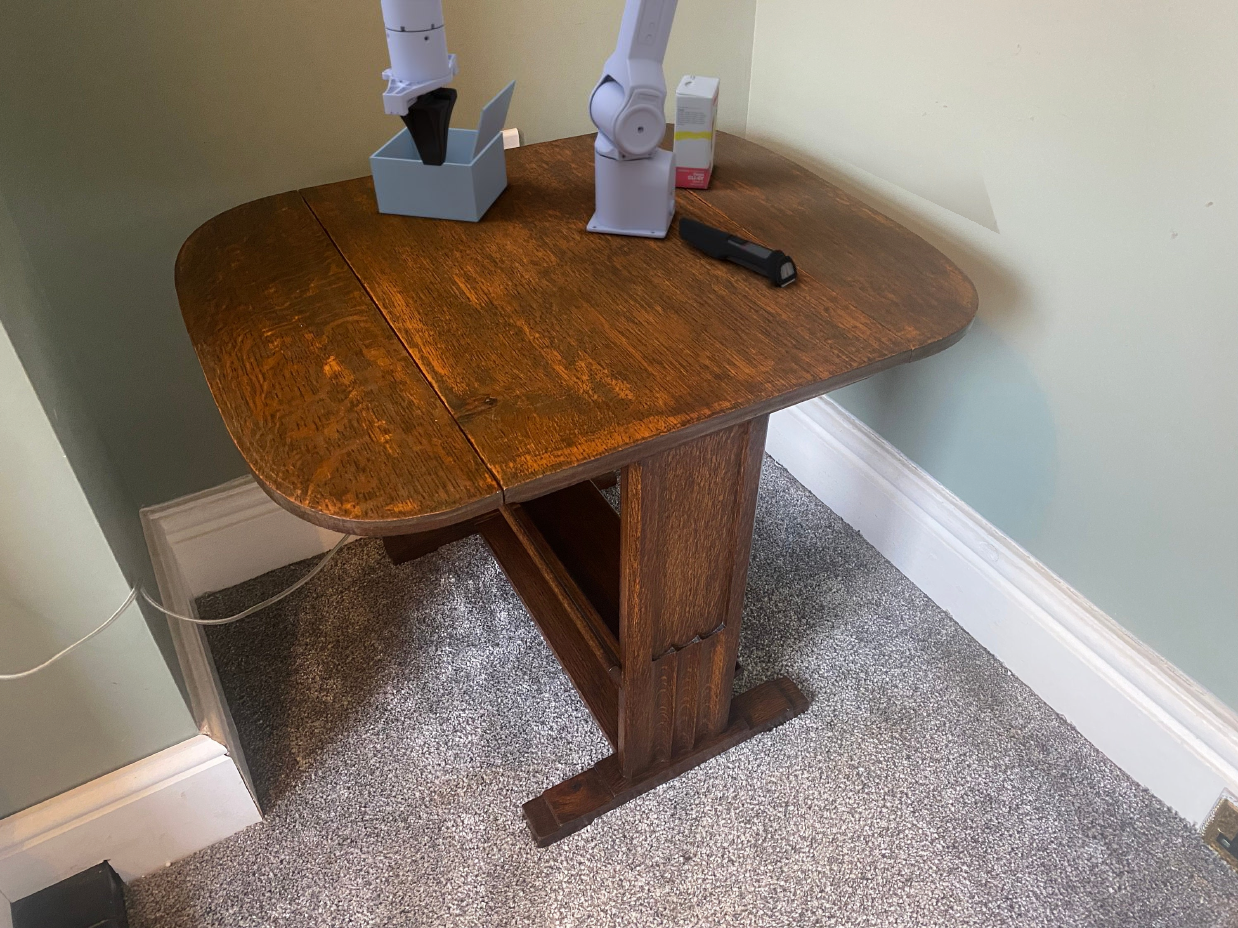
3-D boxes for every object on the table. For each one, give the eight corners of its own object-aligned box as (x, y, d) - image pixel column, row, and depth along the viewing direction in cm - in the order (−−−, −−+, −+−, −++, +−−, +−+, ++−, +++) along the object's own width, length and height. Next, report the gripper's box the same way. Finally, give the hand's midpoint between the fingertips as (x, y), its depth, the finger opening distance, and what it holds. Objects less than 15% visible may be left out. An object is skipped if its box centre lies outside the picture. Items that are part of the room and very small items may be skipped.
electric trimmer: (692, 236, 101) (693, 210, 99) (799, 278, 92) (802, 251, 90) (670, 246, 99) (671, 220, 97) (778, 290, 90) (781, 262, 88)
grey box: (507, 185, 112) (502, 132, 108) (477, 222, 103) (471, 166, 99) (416, 177, 114) (408, 125, 110) (379, 212, 105) (369, 157, 101)
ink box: (707, 190, 111) (714, 96, 103) (670, 187, 112) (674, 93, 104) (714, 166, 117) (721, 76, 110) (679, 164, 118) (683, 74, 110)
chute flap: (501, 126, 107) (503, 128, 107) (469, 160, 99) (472, 161, 99) (513, 78, 103) (516, 80, 103) (482, 109, 94) (484, 110, 94)
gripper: (406, 6, 89) (425, 137, 98) (342, 42, 78) (370, 186, 87) (469, 9, 88) (483, 142, 97) (414, 46, 77) (435, 191, 86)
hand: (434, 163), depth 92 cm, fingers closed
